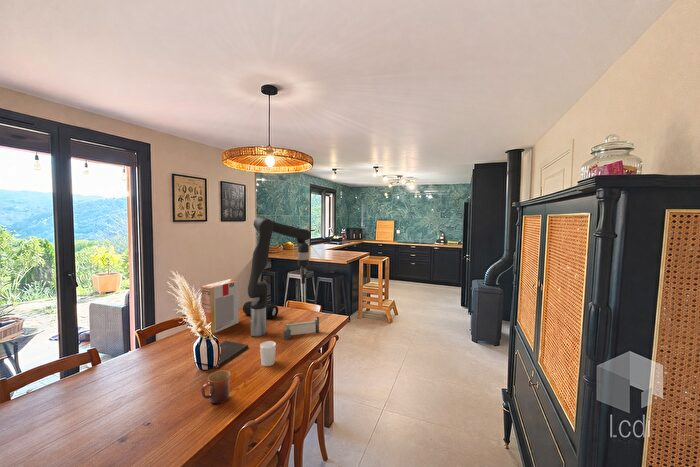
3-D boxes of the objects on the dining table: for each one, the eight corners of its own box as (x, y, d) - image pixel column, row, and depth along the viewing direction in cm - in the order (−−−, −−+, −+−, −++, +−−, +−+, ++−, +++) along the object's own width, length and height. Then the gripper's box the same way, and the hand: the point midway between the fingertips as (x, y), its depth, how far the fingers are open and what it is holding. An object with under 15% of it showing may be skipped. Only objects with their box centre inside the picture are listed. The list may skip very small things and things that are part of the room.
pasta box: (230, 320, 205) (230, 279, 203) (239, 322, 202) (238, 280, 200) (202, 332, 185) (201, 286, 182) (211, 334, 181) (210, 287, 179)
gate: (314, 331, 188) (314, 320, 188) (315, 332, 187) (315, 321, 186) (286, 335, 182) (286, 323, 181) (286, 336, 180) (286, 325, 180)
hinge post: (315, 333, 187) (316, 318, 186) (314, 331, 189) (315, 316, 188) (319, 332, 187) (319, 317, 187) (318, 331, 190) (318, 316, 189)
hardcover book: (193, 363, 148) (193, 359, 148) (225, 344, 170) (225, 340, 170) (218, 369, 143) (218, 364, 143) (248, 348, 165) (248, 344, 165)
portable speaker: (279, 316, 216) (279, 303, 215) (271, 320, 206) (271, 307, 205) (250, 311, 224) (250, 299, 223) (241, 316, 214) (241, 303, 214)
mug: (222, 390, 125) (222, 367, 125) (235, 397, 121) (235, 374, 120) (195, 405, 115) (195, 381, 115) (208, 414, 111) (208, 388, 110)
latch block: (284, 339, 176) (284, 331, 176) (283, 337, 179) (283, 330, 178) (290, 338, 178) (290, 330, 177) (289, 337, 180) (289, 329, 180)
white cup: (279, 361, 151) (279, 342, 150) (268, 368, 144) (268, 349, 143) (267, 357, 154) (267, 339, 153) (256, 364, 147) (256, 345, 146)
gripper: (310, 260, 192) (310, 285, 194) (307, 257, 205) (306, 280, 206) (299, 260, 190) (299, 286, 191) (296, 257, 202) (296, 281, 204)
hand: (303, 283), depth 199 cm, fingers closed
